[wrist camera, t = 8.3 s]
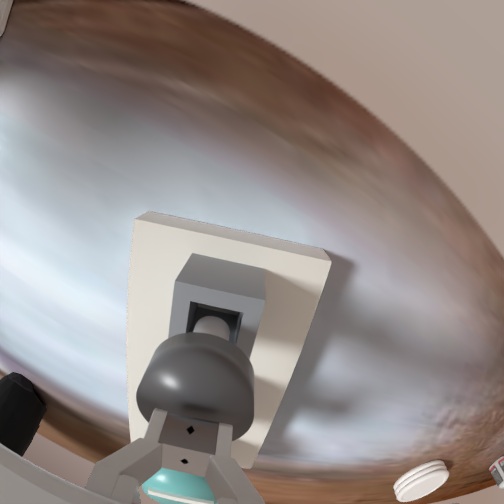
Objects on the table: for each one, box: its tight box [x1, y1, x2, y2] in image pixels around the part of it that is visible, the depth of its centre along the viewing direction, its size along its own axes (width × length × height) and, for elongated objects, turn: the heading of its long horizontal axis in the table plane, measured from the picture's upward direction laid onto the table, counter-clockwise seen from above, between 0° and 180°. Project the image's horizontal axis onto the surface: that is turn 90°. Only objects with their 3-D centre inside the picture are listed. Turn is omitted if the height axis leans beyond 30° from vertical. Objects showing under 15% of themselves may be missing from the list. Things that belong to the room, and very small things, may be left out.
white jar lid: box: [394, 460, 449, 502], centre depth 34 cm, size 10×10×4 cm
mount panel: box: [126, 211, 332, 469], centre depth 23 cm, size 26×14×8 cm, turn 167°
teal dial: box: [142, 468, 217, 504], centre depth 16 cm, size 5×5×6 cm
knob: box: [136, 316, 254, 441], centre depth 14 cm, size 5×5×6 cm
